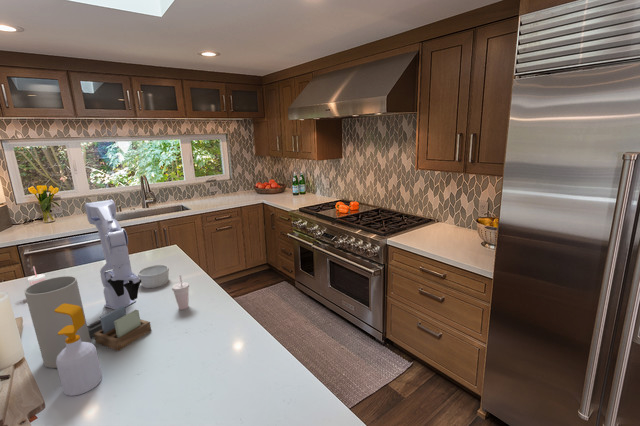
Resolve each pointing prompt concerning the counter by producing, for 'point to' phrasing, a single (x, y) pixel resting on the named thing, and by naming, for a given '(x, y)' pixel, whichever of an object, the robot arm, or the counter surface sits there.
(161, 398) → the counter surface
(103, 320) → the blue grey tile
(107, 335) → the rack
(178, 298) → the smoothie
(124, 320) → the thin sage green tile
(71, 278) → the cylinder vase
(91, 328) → the stand
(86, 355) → the soap bottle
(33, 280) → the beverage cup
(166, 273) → the ramekin
